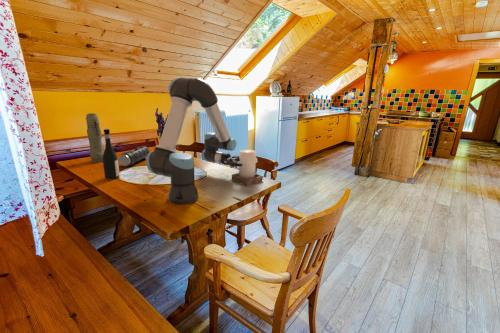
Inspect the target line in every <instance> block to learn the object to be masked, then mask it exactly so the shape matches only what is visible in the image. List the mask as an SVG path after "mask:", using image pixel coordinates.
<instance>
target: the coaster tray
mask: <svg viewBox="0 0 500 333" xmlns="http://www.w3.org/2000/svg"><path fill="white" fill-rule="evenodd" d="M263 178H264V176H263V175H261V174H257V173H256V172H255V178H252V179H248V180H246V179H243V178H241V177H239V172H237V173H232V174H231V180H232V181H233V182H236V183H238V184H241V185H243V186H246V187H250V186H252V185H255V184H258V183H261V182H260V181H262V180H263V181H264V179H263ZM263 181H262V182H263ZM257 182H258V183H257Z"/></svg>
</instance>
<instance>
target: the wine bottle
mask: <svg viewBox="0 0 500 333" xmlns="http://www.w3.org/2000/svg"><path fill="white" fill-rule="evenodd" d="M103 133H104V140H105V149H104V150H103V152H104V155H103V162H102V166H103V171H104V172H103V173H104V178H105V179H107V180H114V179H115V180H116V179H118V178H119V177H120V168H119V158H118V156H117V153H116V151H115V150H114V149H113V146H112V143H111V134H110V133H111V132H110V129H109V128H105V129H103Z"/></svg>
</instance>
